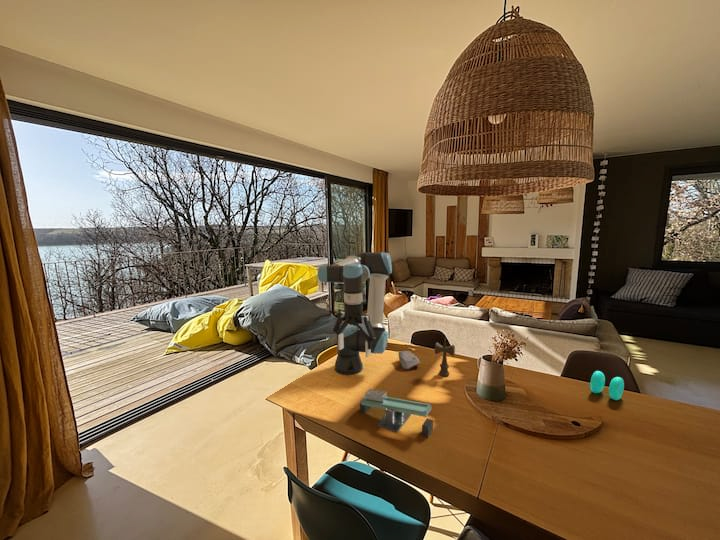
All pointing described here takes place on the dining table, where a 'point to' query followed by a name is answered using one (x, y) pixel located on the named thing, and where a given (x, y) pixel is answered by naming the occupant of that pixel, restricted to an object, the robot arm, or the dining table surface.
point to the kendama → (444, 356)
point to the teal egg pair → (614, 388)
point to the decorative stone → (408, 359)
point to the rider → (376, 396)
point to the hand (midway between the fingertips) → (354, 352)
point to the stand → (398, 420)
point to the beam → (401, 406)
